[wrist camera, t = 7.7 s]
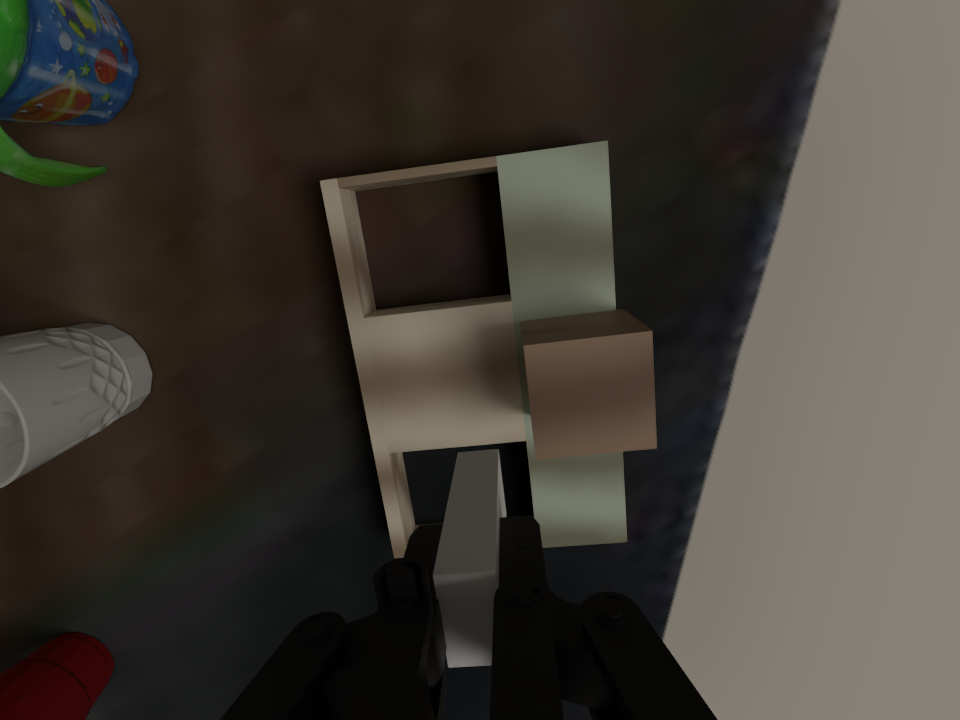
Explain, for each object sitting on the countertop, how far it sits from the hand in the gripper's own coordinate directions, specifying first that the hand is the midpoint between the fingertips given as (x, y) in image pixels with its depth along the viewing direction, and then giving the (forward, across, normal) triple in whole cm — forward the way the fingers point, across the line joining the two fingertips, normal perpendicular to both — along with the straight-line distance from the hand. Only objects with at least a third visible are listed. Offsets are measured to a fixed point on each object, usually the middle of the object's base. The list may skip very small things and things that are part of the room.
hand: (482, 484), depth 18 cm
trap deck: (+15, 0, 0) cm, 15 cm away
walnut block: (+12, -5, -1) cm, 13 cm away
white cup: (+16, +27, -3) cm, 32 cm away
